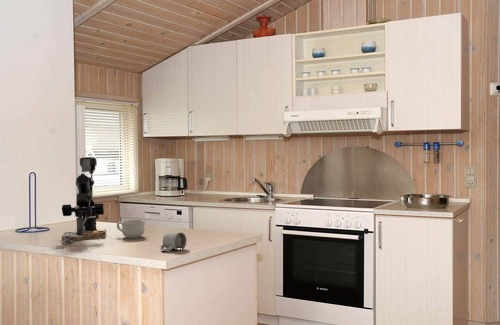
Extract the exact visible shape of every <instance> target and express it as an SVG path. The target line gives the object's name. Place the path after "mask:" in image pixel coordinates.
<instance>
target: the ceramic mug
mask: <svg viewBox="0 0 500 325" xmlns="http://www.w3.org/2000/svg"><path fill="white" fill-rule="evenodd" d="M187 243H188V242H187V236H186V235H185V233H184V232H182V231H178V232H177V231H175V232H174V231H171V232H170V231H169V232H167V233H165V234H164V235H163V237H162V245H161V246H160V247H159V248H160V251H161V250H163V251H168V252H171V250H172V249H175V250H174V251H177V250H178V249H177V248H182V249H183V250H184V249H185V248H186V246H187Z"/></svg>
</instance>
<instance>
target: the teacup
mask: <svg viewBox="0 0 500 325" xmlns="http://www.w3.org/2000/svg"><path fill="white" fill-rule="evenodd" d="M120 224H121V226H120ZM116 228H117V229H118V231H120V232H121V233H122V235H123V236H124V237H125V238H126V239H130V240H134V239H133V238H135V239H139V238H141V237H142V236H143V235H144V234H145V220H144V219H128V220H127V219H126V220H124V221H117V223H116Z"/></svg>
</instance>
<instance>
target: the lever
mask: <svg viewBox="0 0 500 325" xmlns="http://www.w3.org/2000/svg"><path fill="white" fill-rule="evenodd" d="M72 232H73V233H69V234H64V233H63V234H62V235H63V237H82V235H84V232H85V226H84V221H83V218H78V217H76V231H72ZM75 234H77V235H75Z"/></svg>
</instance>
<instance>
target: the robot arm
mask: <svg viewBox="0 0 500 325" xmlns="http://www.w3.org/2000/svg"><path fill="white" fill-rule="evenodd" d="M97 164H98V162H97V158H95V157H94V156H82V157H80V158H79V166H80V168H81V173H79V175H78V176H77V177H76V179H75V186H76V188H77V190H78V192H77V194H76V203H75V206H74V207H72V204H70V203H69V204H63V205H62V206H61V212H62V213H61V214H62V216H64V217H70V216H72V214H73V213H74V217H76V218H83V221H84V226H85V231H99V230H98V229H97V220H98V219H100V217H99V216H100V215H104V214H105V207H104V203H103V202H99V203H98V202H97V203H96V202H95V201H94V199H93V197H94V196H93V195H94V194H93V192H94V190H93V187H94V184H95V180H94V179H93V177H94V176H93V174H94V173H95V171H96V167H97Z"/></svg>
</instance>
